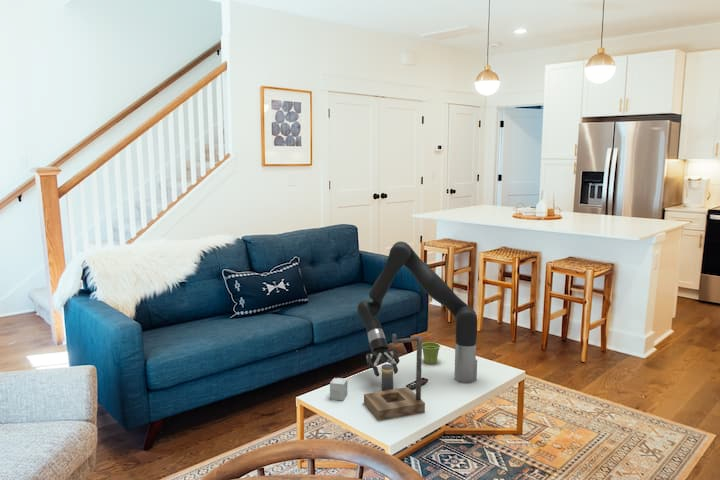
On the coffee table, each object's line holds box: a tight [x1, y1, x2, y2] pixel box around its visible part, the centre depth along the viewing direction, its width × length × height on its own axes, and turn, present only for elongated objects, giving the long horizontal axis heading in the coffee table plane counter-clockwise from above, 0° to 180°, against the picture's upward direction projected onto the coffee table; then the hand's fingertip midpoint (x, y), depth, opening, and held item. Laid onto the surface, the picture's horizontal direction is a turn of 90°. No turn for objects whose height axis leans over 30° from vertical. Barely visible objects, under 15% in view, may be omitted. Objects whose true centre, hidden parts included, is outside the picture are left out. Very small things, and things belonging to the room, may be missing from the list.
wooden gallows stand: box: [363, 333, 426, 422], centre depth 221 cm, size 20×16×32 cm
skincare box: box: [329, 377, 348, 401], centre depth 232 cm, size 6×6×7 cm
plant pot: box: [422, 341, 441, 365], centre depth 272 cm, size 9×9×9 cm
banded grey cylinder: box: [380, 363, 394, 391], centre depth 239 cm, size 5×5×11 cm
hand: (387, 374), depth 239 cm, fingers open, 8 cm apart
